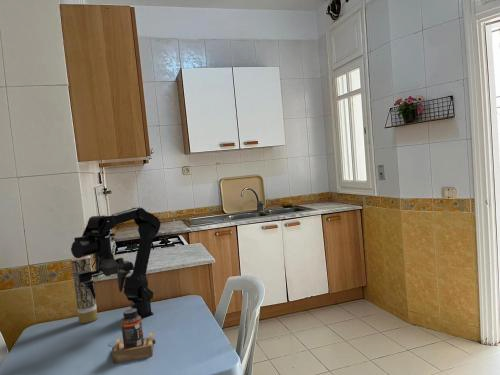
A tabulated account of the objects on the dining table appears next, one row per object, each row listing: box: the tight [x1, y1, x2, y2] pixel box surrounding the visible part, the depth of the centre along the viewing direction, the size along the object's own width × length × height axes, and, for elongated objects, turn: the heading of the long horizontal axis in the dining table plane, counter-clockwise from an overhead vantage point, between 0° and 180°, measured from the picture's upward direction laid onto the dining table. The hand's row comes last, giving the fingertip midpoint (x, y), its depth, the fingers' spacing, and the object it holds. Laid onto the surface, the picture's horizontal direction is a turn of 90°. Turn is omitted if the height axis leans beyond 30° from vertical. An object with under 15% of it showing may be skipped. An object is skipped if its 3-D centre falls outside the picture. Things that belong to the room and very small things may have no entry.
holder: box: [111, 330, 157, 364], centre depth 115 cm, size 11×13×3 cm
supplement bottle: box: [120, 308, 145, 349], centre depth 115 cm, size 6×6×11 cm
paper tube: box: [71, 255, 98, 324], centre depth 146 cm, size 7×7×25 cm
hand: (107, 295), depth 132 cm, fingers open, 9 cm apart
